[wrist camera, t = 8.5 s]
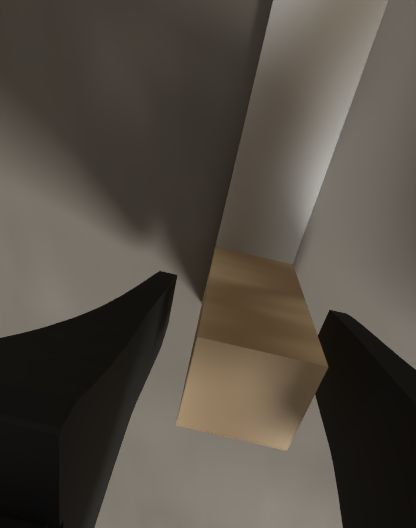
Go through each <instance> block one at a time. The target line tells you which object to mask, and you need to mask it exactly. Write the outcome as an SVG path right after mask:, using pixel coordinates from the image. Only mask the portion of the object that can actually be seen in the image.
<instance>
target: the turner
mask: <svg viewBox="0 0 416 528" xmlns="http://www.w3.org/2000/svg"><path fill="white" fill-rule="evenodd" d="M387 3H388V0H273V3H272V7H271V11H270V15H269V20H268V24H267V28H266V32H265V37H264V41H263V45H262V50H261V54H260V58H259V62H258V67H257V71H256V75H255V79H254V84H253V88H252V92H251V96H250V101H249V105H248V109H247V113H246V118H245V122H244V126H243V131H242V135H241V139H240V143H239V148H238V152H237V156H236V160H235V165H234V169H233V173H232V177H231V182H230V186H229V190H228V195H227V199H226V203H225V207H224V212H223V216H222V220H221V224H220V229H219V233H218V237H217V241H216V246H215V250H214V254H213V259H212V263H211V267H210V271H209V276H208V280H207V284H206V288H205V293H204V297H203V301H202V306H201V310H200V315H199V320H198V324H197V329H196V334H195V338H194V343H193V348H192V353H191V357H190V362H189V367H188V371H187V376H186V381H185V385H184V390H183V395H182V400H181V404H180V409H179V414H178V418H177V423H176V425H177V426H181V427H186V428H190V429H194V430H199V431H203V432H208V433H212V434H216V435H221V436H225V437H229V438H234V439H238V440H242V441H247V442H251V443H255V444H260V445H264V446H269V447H273V448H277V449H282V450H286V451H287V449H288V447H289V445H290V443H291V441H292V439H293V437H294V435H295V433H296V431H297V429H298V427H299V425H300V423H301V421H302V419H303V417H304V415H305V413H306V411H307V409H308V407H309V405H310V403H311V401H312V399H313V397H314V395H315V393H316V391H317V389H318V387H319V385H320V383H321V381H322V379H323V377H324V375H325V373H326V371H327V369H328V364H327V361H326V358H325V356H324V353H323V350H322V347H321V344H320V341H319V338H318V335H317V333H316V330H315V327H314V324H313V321H312V318H311V315H310V313H309V310H308V307H307V304H306V301H305V298H304V295H303V292H302V290H301V287H300V284H299V281H298V278H297V275H296V272H295V270H294V267H293V262H294V260H295V257H296V254H297V251H298V249H299V246H300V243H301V240H302V238H303V235H304V232H305V229H306V227H307V224H308V221H309V218H310V216H311V213H312V210H313V207H314V205H315V202H316V199H317V196H318V194H319V191H320V188H321V185H322V182H323V180H324V177H325V174H326V171H327V169H328V166H329V163H330V160H331V158H332V155H333V152H334V149H335V147H336V144H337V141H338V138H339V136H340V133H341V130H342V127H343V125H344V122H345V119H346V116H347V114H348V111H349V108H350V105H351V102H352V100H353V97H354V94H355V91H356V89H357V86H358V83H359V80H360V78H361V75H362V72H363V69H364V67H365V64H366V61H367V58H368V56H369V53H370V50H371V47H372V45H373V42H374V39H375V36H376V34H377V31H378V28H379V25H380V23H381V20H382V17H383V14H384V11H385V9H386V6H387Z"/></svg>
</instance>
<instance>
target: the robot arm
mask: <svg viewBox="0 0 416 528" xmlns="http://www.w3.org/2000/svg"><path fill="white" fill-rule="evenodd" d="M176 279H177V275H175V274H171V273H166V272H162V271H159V272H158V273H156V274H154V275H153V276H151V277H150V278H148V279H147V280H146V281H144V282H143V283H141V284H140V285H138V286H136V287H135V288H133V289H132V290H130V291H128V292H127V293H125V294H124V295H122V296H120V297H118V298H116V299H115V300H113V301H111V302H109V303H107V304H105V305H103V306H101V307H99V308H97V309H94V310H92V311H90V312H87V313H85V314H82V315H80V316H77V317H75V318H72V319H69V320H66V321H62V322H59V323H56V324H53V325H50V326H47V327H44V328H40V329H37V330H33V331H29V332H25V333H21V334H16V335H12V336H7V337H3V338H0V528H94V527H95V524H96V520H97V517H98V514H99V511H100V508H101V505H102V502H103V499H104V496H105V492H106V489H107V486H108V483H109V480H110V477H111V474H112V471H113V468H114V465H115V462H116V459H117V456H118V453H119V450H120V447H121V444H122V441H123V438H124V435H125V432H126V429H127V426H128V423H129V420H130V417H131V414H132V412H133V409H134V407H135V404H136V402H137V400H138V397H139V395H140V393H141V391H142V388H143V386H144V384H145V382H146V380H147V377H148V375H149V373H150V371H151V368H152V366H153V364H154V362H155V360H156V357H157V355H158V353H159V350H160V348H161V345H162V342H163V339H164V336H165V333H166V329H167V326H168V322H169V317H170V312H171V306H172V301H173V295H174V290H175V284H176ZM318 338H319V341H320V344H321V347H322V350H323V353H324V356H325V358H326V361H327V364H328V369H327V371H326V373H325V375H324V377H323V379H322V381H321V383H320V385H319V387H318V389H317V391H316V393H315V395H316V399H317V403H318V406H319V410H320V414H321V417H322V421H323V425H324V428H325V432H326V436H327V439H328V443H329V447H330V451H331V456H332V460H333V465H334V471H335V477H336V483H337V489H338V495H339V503H340V510H341V517H342V524H343V528H416V370H415V369H414V368H413V367H411V366H410V365H409V364H408V363H406V362H405V361H404V360H403V359H402V358H400V357H399V356H398V355H397V354H396V353H394V352H393V351H392V350H391V349H390V348H388V347H387V346H386V345H385V344H384V343H383V342H381V341H380V340H379V339H378V338H377V337H376V336H374V335H373V334H372V333H371V332H370V331H369V330H367V329H366V328H365V327H364V326H363V325H361V324H360V323H359V322H358V321H356V320H355V319H354V318H352V317H351V316H350V315H348V314H345V313H341V312H337V311H332V310H329V312H328V315H327V317H326V319H325V321H324V324H323V326H322V328H321V330H320V332H319V335H318Z"/></svg>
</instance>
